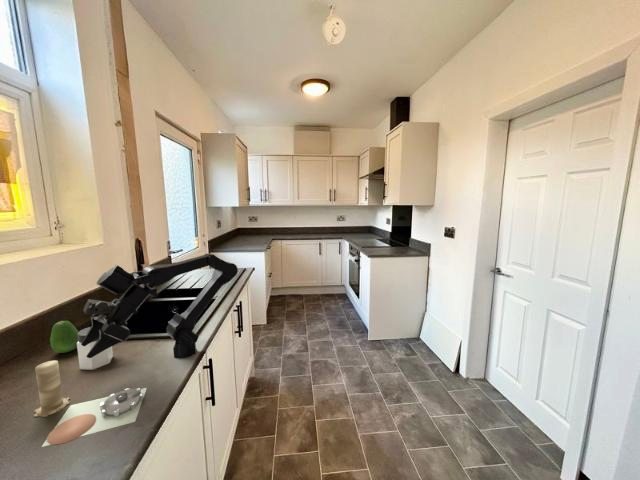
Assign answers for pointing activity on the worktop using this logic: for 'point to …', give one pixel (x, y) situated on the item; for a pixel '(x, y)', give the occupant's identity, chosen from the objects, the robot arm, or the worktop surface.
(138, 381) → the worktop surface
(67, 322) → the avocado
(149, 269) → the robot arm
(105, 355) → the jar
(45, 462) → the worktop surface
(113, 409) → the gear
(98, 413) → the board
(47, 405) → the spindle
